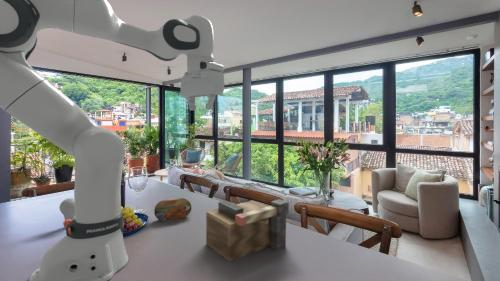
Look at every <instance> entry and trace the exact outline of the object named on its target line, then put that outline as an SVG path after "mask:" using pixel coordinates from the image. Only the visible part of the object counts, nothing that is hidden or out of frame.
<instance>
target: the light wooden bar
mask: <svg viewBox="0 0 500 281" xmlns="http://www.w3.org/2000/svg"><path fill="white" fill-rule="evenodd" d="M267 206H268V205H267ZM275 215H278V207H277V206H274V205H269V206H268V207H265V208H261V209H257V210H253V211H250V212H246V213H242V214H237V215H235V223H236V224H238V225H240V226H244V225H246V224H249V223H252V222H255V221H258V220H262V219H265V218H268V217H272V216H275Z"/></svg>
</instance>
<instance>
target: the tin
mask: <svg viewBox="0 0 500 281" xmlns="http://www.w3.org/2000/svg"><path fill="white" fill-rule="evenodd" d="M191 212H192V204H191V202H190V201H189V200H188V199H187V198H184V197H180V198H179V197H178V198H172V199H163V200H160V201H159V202H157V203H156V205H155V207H154V212H153V214H154V216H155V218H156V219H157V220H159V221H161V222H167V221H174V220H181V219H185V218H187V217H188V216H189V215H190V214H191Z"/></svg>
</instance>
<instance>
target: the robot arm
mask: <svg viewBox="0 0 500 281" xmlns="http://www.w3.org/2000/svg"><path fill="white" fill-rule="evenodd" d="M44 29H59V30H62V31H64V32H70V33H75V34H78V35H83V36H87V37H93V38H97V39H102V40H107V41H112V42H114V43H118V44H121V45H124V46H128V47H131V48H134V49H138V50H142V51H145V52H147V53H149V54H151V55H152V56H154V58H156V59H158V60H161V61H164V62H172V61H174V60H176V59H177V58H178V57H179V56H180V55H185V56H186V67H187V69H186V72H184V74H183V76H182V78H181V82H180V96H181V98H183V99H184V98H185V99H186V100H187V103H188V105H189V108H188V109H189V110H190V111H197V105H196V104H195V98H200V97H207V103H205V110H213V108H214V107H213V106H214V105H213V104H214V103H215V100H216V96H218V95H222V94H223V93H224V91H225V75H224V72H225V66H224V65H223V64H220V63H217V62H215V58H214V49H215V36H214V34H215V33H214V28H213V25H212V22H211V21H210V19H208V18H206V17H205V16H204V15H199V14H198V15H197V14H196V15H195V14H193V15H191V16H190V17H188V18H184V19H179V18H178V19H177V18H174V19H173V18H172V19H169V20H168V21H166V22H164V24H162V25H161V27H159V29H157V30H147V29H144V28H141V27H138V26H136V25H134V24H130V23H126V22H125V21H122V20H121V19H120V18H119V17H118V16H117V15H116V12H114V9H113V7H112V5H111V4H110V3H109V2H108V0H0V109H1V110H3V111H4V112H6V113H7V114H9V115H10V116H11V117H13V118H15V120H18V121H19V122H20V123H21V124H23V125H25V126H26V127H28V128H29V129H30V130H32V131H33V132H35V133H36V134H38V135H39V136H41V137H43V139H45V140H47V141H49V142H50V143H52V144H53V145H54V146H56V147H58V149H61V150H62V151H64V152H65V153H67V154H68V155H69V156H71V157H72V158H74V190H73V199H74V201H75V219H74V220H71V219H66V220H65V219H64V221H63V223H62V224H63V227H64V228H65V233H66V234H65V235H64V236H63V237H62V238H61V239H60V240H58V241H57V242H56V243H54V244H53V245H52V246H51V247H50V248H48V249H47V250H46V251H45V253H44V255H43V256H42V259H41V262H40V265H39V268H37V269H36V270H34V271H33V273H32V274H31V275H30V277H29V279H28V281H109V280H111V279H112V278H113V276H114V275H115V274H116V273H117V272H118V271H120V270H121V269H122V268H123V267H125V266H126V265H127V263H128V262H129V255H128V253H127V251H126V247H125V243H124V242H125V241H124V236H123V232H124V225H125V224H124V214H123V212H122V202H121V201H122V195H121V192H122V191H121V190H122V188H121V186H122V178H123V170H124V158H125V155H126V146H125V143H124V140H123V139H122V138H121V136H120V135H118V133H117V132H115V131H113V130H111V129H109V128H104V127H102V126H101V125H100V124H99V123H97V122H96V121H95V120H94V119H93V118H92V117H91V116H89V115H88V114H87V113H86V112H85V111H84V110H83V108H81V107H80V106H79V105H78V104H77V103H76V102H74V100H72V99H71V98H70V97H68V95H66V94H65V93H63V92H62V91H61V90H60V89H59V88H58V87H56V86H55V85H54V83H51V82H50V81H49V80H48V79H47V78H45V76H43V75H41V74H40V73H39V72H38V71H37V70H36V69H34V67H32V66H31V65H30V63H28V59H29V58H30V56H31V54H32V53H33V51H34V50H35V48H36V46H37V42H38V37H37V35H38V34H37V33H38V32H39V31H41V30H44Z"/></svg>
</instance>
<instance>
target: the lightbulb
mask: <svg viewBox="0 0 500 281" xmlns="http://www.w3.org/2000/svg"><path fill="white" fill-rule="evenodd" d="M58 208H59V211H60V212H61V214H62V215H63V217H64V221H65V220H66V219H71V220H74V219H75V201H74V198H72V197H71V198H65V199H64V200H62V201H61V203H60V205H59V207H58Z"/></svg>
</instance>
